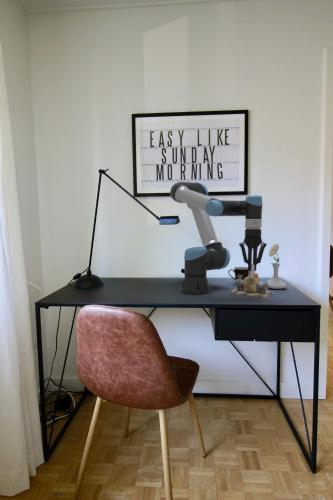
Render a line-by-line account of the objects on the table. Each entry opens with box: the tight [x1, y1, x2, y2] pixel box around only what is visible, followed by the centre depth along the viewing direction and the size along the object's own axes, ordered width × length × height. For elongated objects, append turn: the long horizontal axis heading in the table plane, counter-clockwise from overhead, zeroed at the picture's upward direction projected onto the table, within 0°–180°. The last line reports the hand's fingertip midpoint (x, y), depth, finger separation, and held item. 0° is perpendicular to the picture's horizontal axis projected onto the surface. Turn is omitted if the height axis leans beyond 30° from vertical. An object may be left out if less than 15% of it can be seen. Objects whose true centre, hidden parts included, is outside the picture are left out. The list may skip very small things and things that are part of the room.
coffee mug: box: [227, 266, 249, 281], centre depth 188 cm, size 12×9×10 cm
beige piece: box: [230, 274, 273, 299], centre depth 166 cm, size 18×10×10 cm, turn 57°
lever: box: [249, 271, 259, 279], centre depth 160 cm, size 14×3×2 cm, turn 175°
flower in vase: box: [266, 243, 287, 290], centre depth 177 cm, size 13×11×25 cm
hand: (251, 277), depth 156 cm, fingers closed
